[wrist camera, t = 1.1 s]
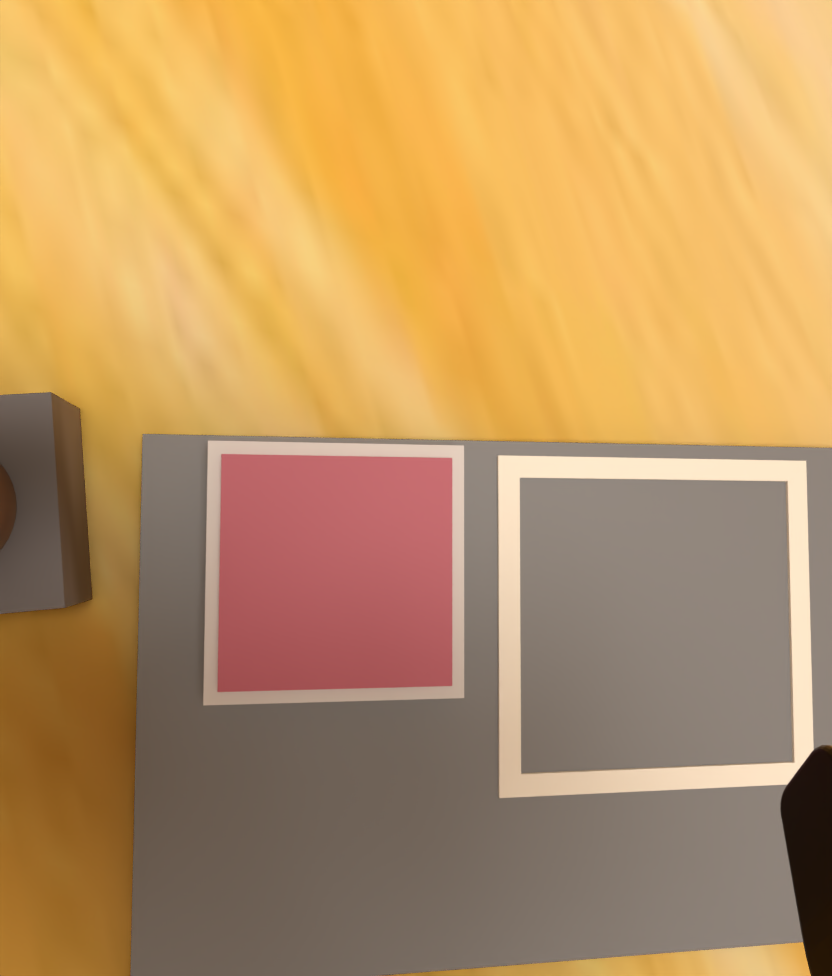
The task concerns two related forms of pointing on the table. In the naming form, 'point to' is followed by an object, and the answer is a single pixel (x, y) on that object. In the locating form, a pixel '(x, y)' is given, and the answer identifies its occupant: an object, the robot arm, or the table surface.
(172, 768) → the stamp board
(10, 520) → the stamp
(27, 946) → the table surface
